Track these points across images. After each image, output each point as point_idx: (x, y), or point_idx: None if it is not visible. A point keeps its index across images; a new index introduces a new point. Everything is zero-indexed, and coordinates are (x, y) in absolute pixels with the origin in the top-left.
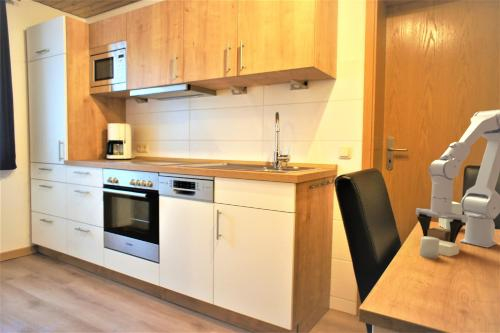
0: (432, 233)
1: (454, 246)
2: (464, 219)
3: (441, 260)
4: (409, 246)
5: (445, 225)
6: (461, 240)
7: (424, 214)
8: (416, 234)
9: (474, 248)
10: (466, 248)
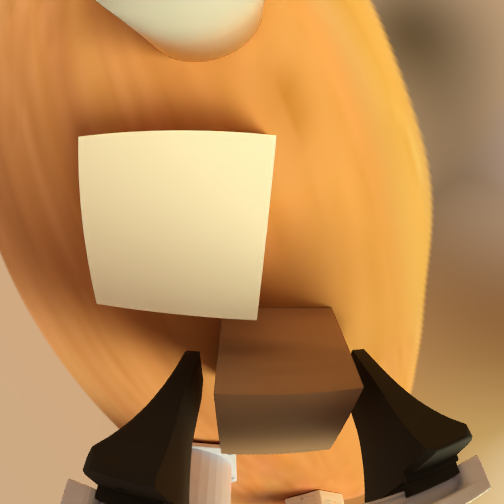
0: (317, 370)
1: (85, 221)
2: (66, 500)
3: None
4: (395, 148)
5: (322, 498)
6: None
7: (425, 489)
8: None
9: None
10: None
